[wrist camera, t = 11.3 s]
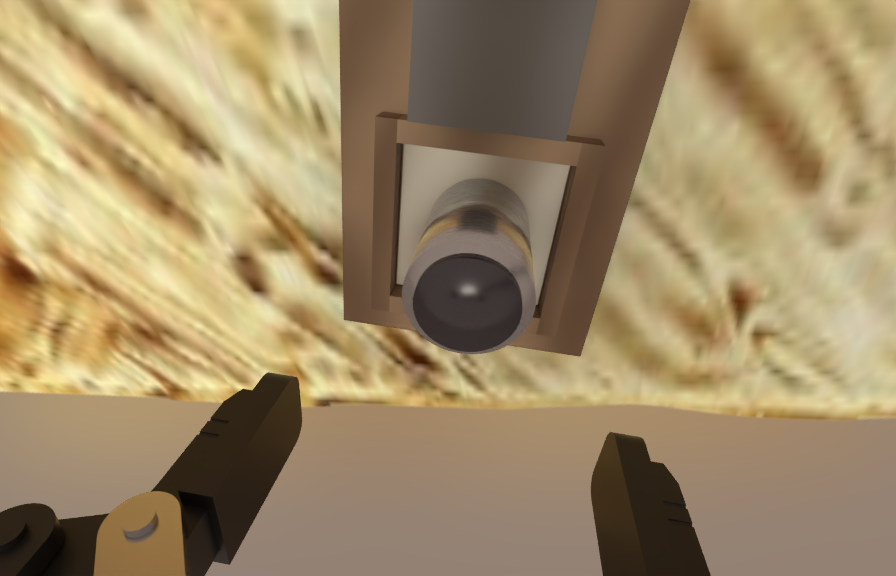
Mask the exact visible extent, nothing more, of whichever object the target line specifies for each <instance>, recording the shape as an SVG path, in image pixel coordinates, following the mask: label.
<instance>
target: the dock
mask: <svg viewBox="0 0 896 576" xmlns="http://www.w3.org/2000/svg"><path fill="white" fill-rule="evenodd" d="M689 3H690V0H339V20H340V87H341V154H342V221H343V287H344V320H348V321H355V322H361V323H368V324H374V325H381V326H387V327H393V328H400V329H406V330H413V331H417V330H416V329H415V328H414V327H413V325H412V324H411V322H410V321H409V319H408V317H407V315H406V312H405V310H404V306H403V301H402V288H403V282H404V279H405V276H406V274H407V271H408V269H409V266H410V264H411V261H412V259H413V256H414V254H415V251H416V248H417V246H418V243H419V241H420V238H421V236H422V233H423V231H424V228H425V226H426V223H427V221H428V218H429V216H430V213H431V211H432V208H433V206H434V204H435V202H436V201H437V199H438V198H439V196H440V195H441V194H442V193H443V192H444V191H446V190H447V189H448V188H449V187H451V186H453V185H454V184H457V183H459V182H462V181H465V180H470V179H488V180H492V181H495V182H498V183H501V184H502V185H504V186H506V187H508V188H509V189H510V190H512V191H513V192H514V193H515V194H516V195H517V196H518V197H519V199H520V200H521V201H522V203H523V205H524V207H525V209H526V212H527V216H528V222H529V232H530V242H531V252H532V263H533V273H534V283H535V294H536V306H535V311H534V315H533V317H532V320H531V322H530V324H529V325H528V327H527V328H526V330H525V331H524V332H523V333H522V334H521V335H520V336H519V337H518V338H517V339H516V340H515V341H513V342H512V343H510V344H508V345H509V346H516V347H522V348H529V349H535V350H542V351H548V352H554V353H561V354H567V355H574V356H581V352H582V349H583V346H584V343H585V340H586V336H587V333H588V330H589V327H590V323H591V320H592V317H593V314H594V310H595V307H596V304H597V301H598V297H599V294H600V291H601V288H602V285H603V281H604V278H605V275H606V272H607V268H608V265H609V262H610V259H611V255H612V252H613V249H614V246H615V242H616V239H617V236H618V233H619V230H620V226H621V223H622V220H623V217H624V213H625V210H626V207H627V204H628V200H629V197H630V194H631V191H632V187H633V184H634V181H635V178H636V175H637V171H638V168H639V165H640V162H641V158H642V155H643V152H644V149H645V145H646V142H647V139H648V136H649V132H650V129H651V126H652V123H653V120H654V116H655V113H656V110H657V107H658V103H659V100H660V97H661V94H662V90H663V87H664V84H665V81H666V77H667V74H668V71H669V68H670V65H671V61H672V58H673V55H674V52H675V48H676V45H677V42H678V39H679V35H680V32H681V29H682V26H683V22H684V19H685V16H686V13H687V10H688V6H689Z"/></svg>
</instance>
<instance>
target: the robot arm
mask: <svg viewBox="0 0 896 576" xmlns="http://www.w3.org/2000/svg"><path fill="white" fill-rule="evenodd" d="M301 426H302V412H301V401H300V389H299V381H298V378H297V377H292V376H287V375H281V374H275V373H266V374H265V375H264V376H263V377H262V378H261V380H260V381H259V382H258V384H257V385H256V386H255V388H254V389H253V390H246V389H242V390H240V391H239V392H237V393H236V394H235V395H233V396H232V397H230V398H229V399H227V400H226V401H224V402H223V403H222V405H221V406H220V407H219V408H218V410H217V411H216V412H215V414H214V415H213V416H212V417H211V420H210V421H208V422H207V423H206V425H205V426H204V427H203V428H202V429H201V431H200V434H199V435H197V436H196V437H195V438H194V440H193V441H192V442H191V443H190V444H189V446H188V447H187V448H186V449H185V451H184V452H183V453H182V454H181V456H180V457H179V458H178V459H177V461H176V462H175V463H174V464H173V466H172V467H171V468H170V469H169V471H168V472H167V473H166V474H165V476H164V477H163V478H162V479H161V480H160V482H159V483H158V484H157V485H156V487H155V488H154V489H153V490H152V491H151V492H146V493H143V494H139V495H137V496H134V497H132V498H130V499H128V500H126V501H125V502H123V503H121V504H120V505H119V506H117V507H116V508H115V509H114V510H113V511H112V512H111V513H109V514H103V515H95V516H86V517H78V518H69V519H61V520H58V519H57V517H56V515H55V513H54V511H53V510H52V509H51V508H50V507H48V506H46V505H43V504H37V503H32V504H24V505H19V506H16V507H13V508H10V509H7V510H5V511H3V512H1V513H0V576H205V574H206V572H207V571H208V569H209V567H210V566H211V564H212V562H213V561H214V562H219V563H224V564H230V563H231V561H232V560H233V558H234V556H235V554H236V552H237V550H238V549H239V547H240V545H241V543H242V541H243V539H244V538H245V536H246V534H247V532H248V530H249V528H250V526H251V525H252V523H253V521H254V519H255V517H256V516H257V514H258V512H259V510H260V508H261V506H262V505H263V503H264V501H265V499H266V497H267V496H268V493H269V492H270V490H271V488H272V486H273V485H274V483H275V481H276V479H277V477H278V475H279V473H280V472H281V470H282V468H283V466H284V464H285V462H286V461H287V459H288V457H289V455H290V453H291V452H292V450H293V447H294V446H295V444H296V442H297V440H298V437H299V434H300V431H301ZM591 499H592V506H593V512H594V519H595V525H596V532H597V539H598V545H599V552H600V559H601V565H602V571H603V576H710V572H709V570H708V567H707V564H706V561H705V558H704V555H703V553H702V549H701V547H700V544H699V541H698V538H697V535H696V532H695V529H694V528H693V527H692V521H691V518H690V515H689V512H688V510H687V509H686V504H685V501H684V498H683V495H682V493H681V490H680V487H679V484H678V482H677V481H676V480H675V478H674V477H673V476H672V474H671V473H670V472H669V471H668V469H667V468H666V467H665V465H664V464H662V463H657V462H651V461H650V458H649V454H648V451H647V448H646V444H645V442H644V440H643V439H642V438H641V437H636V436H630V435H624V434H618V433H613V432H610V433H609V434H608V435H607V437H606V440H605V442H604V445H603V448H602V450H601V453H600V456H599V458H598V461H597V464H596V466H595V469H594V472H593V475H592V482H591Z"/></svg>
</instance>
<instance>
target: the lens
mask: <svg viewBox="0 0 896 576" xmlns="http://www.w3.org/2000/svg"><path fill="white" fill-rule="evenodd" d="M402 301H403V306H404V310H405V312H406V315H407V317H408V319H409V321H410V322H411V324H412V325H413V327H414V328H415V329H416V330H417V331H418V332H419V333H420V334H421V335H422V336H423V337H424V338H426V339H427V340H428V341H430V342H431V343H433V344H435V345H437V346H439V347H441V348H443V349H446V350H449V351H453V352H457V353H464V354H481V353H487V352H492V351H495V350H498V349H500V348H503V347H505V346H507V345H508V344H510V343H512V342H513V341H515V340H516V339H517V338H518V337H519V336H520V335H521V334H522V333H523V332H524V331H525V330H526V328H527V327H528V325H529V324H530V322H531V320H532V317H533V315H534V311H535V306H536V294H535V283H534V273H533V263H532V252H531V242H530V232H529V222H528V216H527V212H526V209H525V207H524V205H523V203H522V201H521V200H520V199H519V197H518V196H517V195H516V194H515V193H514V192H513V191H512V190H510V189H509V188H508V187H506V186H504V185H502V184H501V183H498V182H495V181H492V180H488V179H470V180H465V181H462V182H459V183H457V184H454V185H453V186H451V187H449V188H448V189H447V190H446V191H444V192H443V193H442V194H441V195H440V196H439V198H438V199H437V201H436V202H435V204H434V206H433V208H432V211H431V213H430V216H429V218H428V221H427V223H426V226H425V228H424V231H423V233H422V236H421V238H420V241H419V243H418V246H417V248H416V251H415V254H414V256H413V259H412V261H411V264H410V266H409V269H408V271H407V274H406V276H405V279H404V282H403V288H402Z"/></svg>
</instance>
